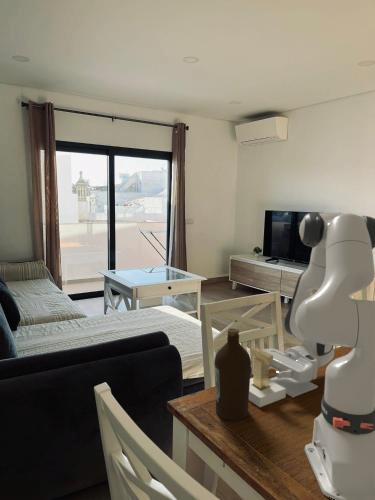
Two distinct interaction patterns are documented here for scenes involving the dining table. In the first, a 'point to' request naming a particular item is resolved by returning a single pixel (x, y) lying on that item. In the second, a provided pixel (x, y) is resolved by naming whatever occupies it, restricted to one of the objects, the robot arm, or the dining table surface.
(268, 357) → the t key
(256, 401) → the socket block
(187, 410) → the dining table surface
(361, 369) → the robot arm
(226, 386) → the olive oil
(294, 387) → the white mat
